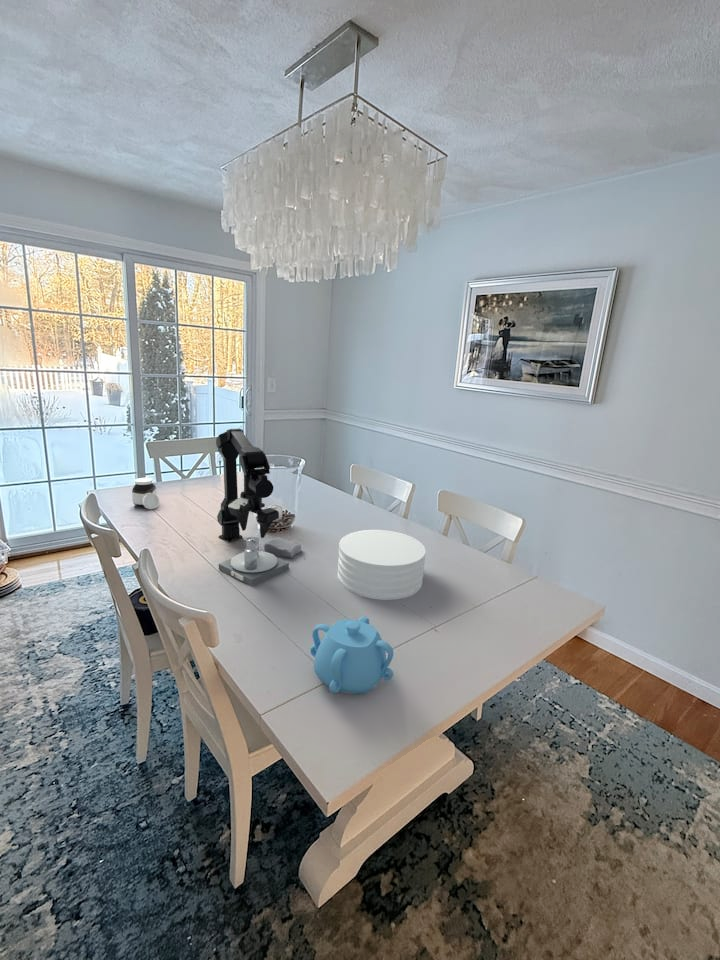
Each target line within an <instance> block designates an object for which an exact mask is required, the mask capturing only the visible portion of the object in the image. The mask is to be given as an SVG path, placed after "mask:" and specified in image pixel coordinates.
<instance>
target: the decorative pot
mask: <svg viewBox="0 0 720 960" xmlns="http://www.w3.org/2000/svg"><path fill="white" fill-rule="evenodd" d="M319 631H323V632H325V634H324V636H323V638H322V639H321V638H320V635H319ZM312 640H313V645H312V646H311V647H310V648H309V649H310V650H309V651H310V655H311V656H312V657H314V660H313V661H314V662H313V670H314V673H315V675H316V676H317V678H318V679H319V680H320V682H322V683H323V684H324V685H326V686H328V689H329V691H330V692H331V693H334V694H336V693H338V692H341V693H344V694H345V693H346V694H349V695H350V694H351V695H364V694H367V693H369V692H371V691H372V689H374V688H375V687H376V686H377V685H378V683H379V682H380V681H381V679H382V680H384V681H390V680H392V679H393V677H394V670H392V669H391V668H390V664H391V662H392V660H393V658H394V649H393V647H392V646H391V644H389V643H388V642H386V641H384V640H382V637H381V635H380V633H379V630H378V629H377V628H376V627H375V626H374V625H373V626H372V625H371V624H370V618H368V617H366V616H360V617H359V618H358V620H357V619H351V618H342V619H339V620H336V621H335V622H334V623H333V624H332V625H331V626H330V625H328V624H326V623H319V624H317V625H316V626H315V627H314V628H313V630H312ZM386 653H387V654H386Z"/></svg>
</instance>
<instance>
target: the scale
mask: <svg viewBox="0 0 720 960" xmlns="http://www.w3.org/2000/svg"><path fill="white" fill-rule="evenodd" d="M288 569H290V562H287V561H286V560H283V559H280V558H279V557H277V555H274V554H271V553H268V552H265V551H264V550H260V549H259V556H258V557H257V569H255V570H246V569H245V568H244V551H243V552H240V553H238V554H236V555H233V557H232V558H230V559H227V560H225V561H221V562H219V563H218V570H220V571H222V572H223V573H226V574H227V575H229V576H231V577H233V578H235V579H237V580H239V581H240V582H243V583H245V584H247V585H249V586H254V585H258V584H259V583H260V582H263V581H266V580H267V579H269V578H271V577H273V576H276V575H278V574H280V573H283V572H284V571H286V570H288Z"/></svg>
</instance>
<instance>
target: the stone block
mask: <svg viewBox="0 0 720 960" xmlns="http://www.w3.org/2000/svg"><path fill="white" fill-rule="evenodd" d="M301 550H302V546H301V543H300V542H298V541H297V542H296V541H293V540H292V541H290V540H287V539H285V538H282V537H279V536H278V537H277V536H276V537H272V538H270V539H268V540H267V541H265V542H264V545H263V551H264V552H268V553H271V554H273V555H275V556H279V557H281V558H286V559H292V558H293V557H294V556H295V555H298V554H300V552H301Z"/></svg>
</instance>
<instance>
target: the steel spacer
mask: <svg viewBox="0 0 720 960" xmlns="http://www.w3.org/2000/svg"><path fill="white" fill-rule="evenodd" d="M245 541H246V543H245V544H246V548H256V549H257V557H258V556H259V550H260V546H259V545H260V542H259V541H260V539H259V537H256V536H249V537H247V538H246V540H245ZM246 548H245V549H246Z"/></svg>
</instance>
